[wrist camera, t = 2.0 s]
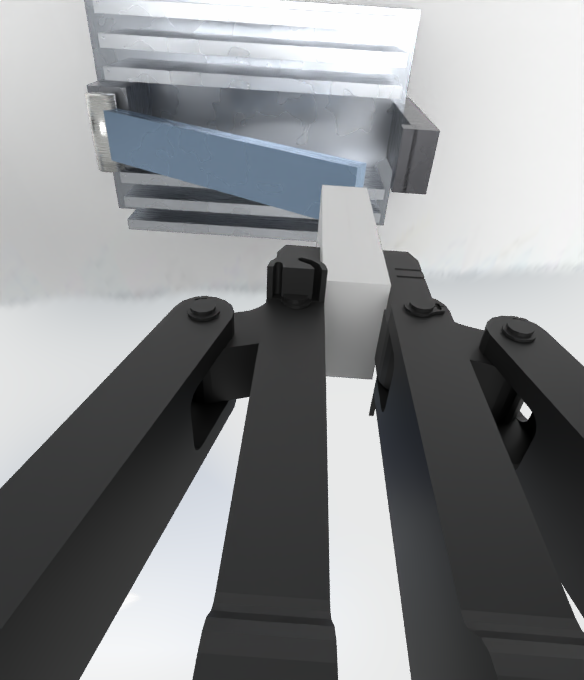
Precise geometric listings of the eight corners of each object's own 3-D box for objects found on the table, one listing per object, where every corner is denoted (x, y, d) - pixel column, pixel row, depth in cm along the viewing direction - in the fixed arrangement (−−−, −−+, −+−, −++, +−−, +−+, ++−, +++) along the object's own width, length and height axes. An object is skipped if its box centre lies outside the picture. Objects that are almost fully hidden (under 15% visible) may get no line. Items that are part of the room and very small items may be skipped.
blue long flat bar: (113, 162, 26) (92, 168, 25) (101, 90, 24) (78, 93, 23) (359, 233, 20) (344, 244, 19) (372, 145, 18) (356, 152, 17)
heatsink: (128, 197, 34) (78, 251, 27) (96, -12, 27) (16, -15, 19) (388, 214, 34) (408, 273, 26) (425, 9, 27) (465, 14, 19)
